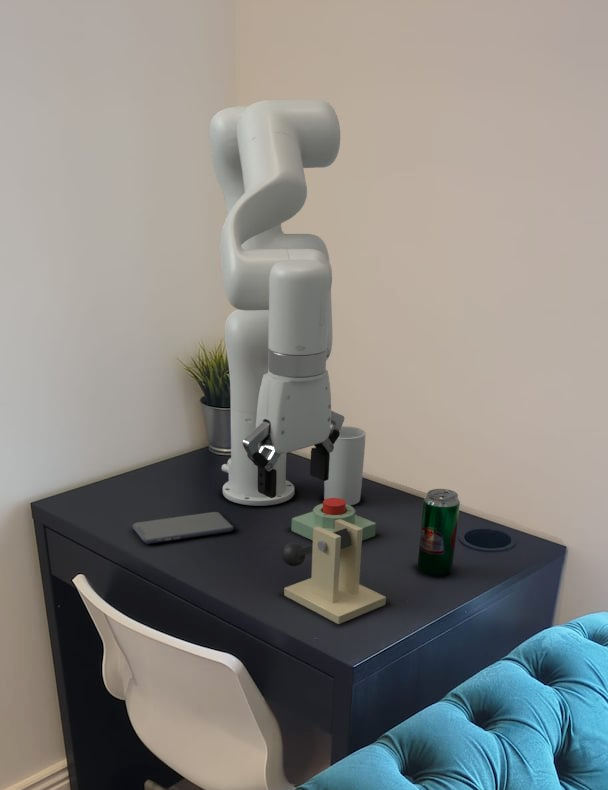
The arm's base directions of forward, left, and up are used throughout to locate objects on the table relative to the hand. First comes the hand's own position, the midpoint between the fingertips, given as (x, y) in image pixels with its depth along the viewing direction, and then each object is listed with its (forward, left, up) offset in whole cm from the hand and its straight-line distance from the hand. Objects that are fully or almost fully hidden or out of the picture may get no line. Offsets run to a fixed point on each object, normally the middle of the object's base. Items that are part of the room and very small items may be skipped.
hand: (293, 486), depth 135 cm
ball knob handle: (+6, 0, -9) cm, 11 cm away
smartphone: (-24, -2, -14) cm, 27 cm away
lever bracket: (+9, 0, -14) cm, 17 cm away
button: (-8, +16, -10) cm, 20 cm away
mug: (-19, +28, -14) cm, 36 cm away
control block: (-8, +16, -14) cm, 22 cm away
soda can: (+12, +18, -14) cm, 25 cm away
